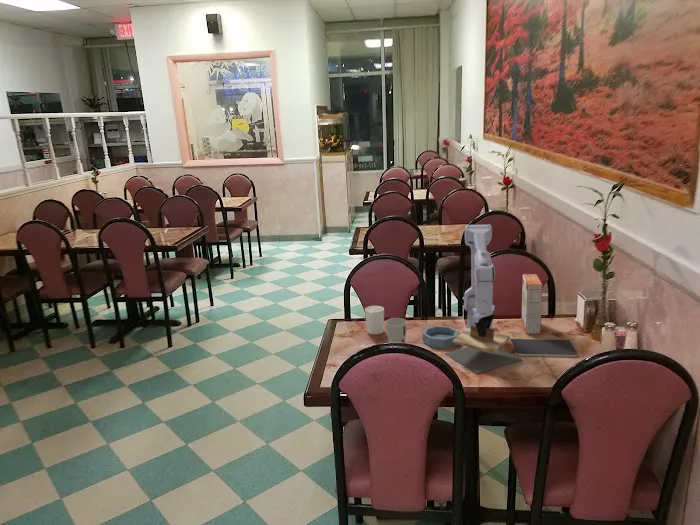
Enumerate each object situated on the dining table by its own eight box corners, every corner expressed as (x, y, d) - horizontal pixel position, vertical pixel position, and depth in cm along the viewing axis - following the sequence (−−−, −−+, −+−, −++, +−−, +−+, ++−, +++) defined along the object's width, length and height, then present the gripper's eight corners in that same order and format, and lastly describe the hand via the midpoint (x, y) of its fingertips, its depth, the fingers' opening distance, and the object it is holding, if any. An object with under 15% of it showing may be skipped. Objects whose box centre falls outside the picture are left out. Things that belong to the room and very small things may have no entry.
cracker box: (520, 321, 213) (522, 273, 207) (535, 321, 212) (537, 273, 206) (524, 334, 200) (526, 283, 194) (540, 334, 198) (543, 284, 193)
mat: (487, 342, 194) (487, 341, 194) (522, 360, 178) (522, 359, 178) (445, 354, 185) (445, 353, 185) (477, 374, 170) (477, 373, 170)
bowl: (444, 331, 206) (444, 323, 205) (464, 342, 195) (464, 334, 194) (417, 338, 201) (416, 330, 200) (436, 350, 189) (436, 341, 188)
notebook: (568, 343, 191) (510, 342, 194) (569, 339, 190) (510, 338, 194) (578, 358, 178) (515, 356, 182) (578, 354, 178) (515, 352, 182)
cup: (406, 350, 190) (405, 326, 188) (384, 350, 192) (384, 325, 189) (408, 342, 198) (407, 318, 195) (387, 341, 200) (386, 317, 197)
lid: (471, 328, 191) (471, 316, 189) (509, 338, 182) (510, 326, 180) (452, 342, 179) (453, 329, 178) (493, 354, 170) (494, 340, 169)
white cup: (388, 329, 211) (387, 307, 208) (378, 336, 204) (378, 313, 202) (371, 326, 215) (371, 304, 212) (362, 333, 209) (361, 310, 206)
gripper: (481, 291, 184) (481, 326, 187) (464, 303, 173) (463, 339, 177) (500, 294, 180) (499, 330, 183) (483, 306, 169) (482, 344, 172)
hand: (483, 335), depth 180 cm, fingers closed on lid
